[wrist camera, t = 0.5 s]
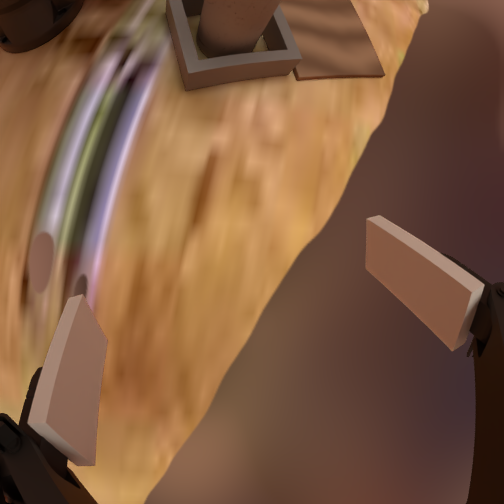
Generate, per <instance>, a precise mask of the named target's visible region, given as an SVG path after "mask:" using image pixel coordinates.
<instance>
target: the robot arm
mask: <svg viewBox="0 0 504 504" xmlns="http://www.w3.org/2000/svg"><path fill="white" fill-rule="evenodd" d="M83 1H84V0H0V46H1V47H2V48H3V49H4V50H6V51H8V52H12V53H19V52H25V51H28V50H31V49H34V48H36V47H38V46H40V45H42V44H44V43H46V42H47V41H49V40H50V39H52V38H53V37H55V36H56V35H57V34H59V33H60V32H61V31H62V30H63V29H64V28H66V27H67V26H68V25H69V24H70V22H71V21H72V20H73V19H74V18H75V16H76V15H77V14H78V12H79V10H80V9H81V6H82V4H83ZM366 235H367V237H366V238H367V239H366V241H367V242H366V269H367V270H368V271H369V272H370V273H371V274H372V275H373V276H374V277H376V278H377V279H378V280H379V281H380V282H381V283H382V284H383V285H384V286H385V287H387V288H388V289H389V290H390V291H391V292H392V293H393V294H394V295H395V296H396V297H397V298H398V299H399V300H400V301H401V302H403V303H404V304H405V305H406V306H407V307H408V308H409V309H410V310H411V311H412V312H413V313H414V314H415V315H416V316H417V317H418V318H419V319H420V320H421V321H423V323H424V324H426V325H427V327H429V328H430V329H431V330H432V331H433V332H434V333H435V334H436V335H437V336H438V337H439V338H440V339H441V340H442V341H443V342H444V343H445V344H446V345H447V346H448V347H449V348H450V349H451V351H453V350H455V349H457V348H458V347H460V346H461V345H463V344H464V343H465V342H466V339H467V336H468V334H469V331H470V332H471V333H472V334H473V335H474V337H473V340H472V342H471V345H470V347H469V350H468V352H467V357H469V356H470V353H471V351H472V350H473V356H472V357H474V370H475V396H476V419H475V443H474V456H473V465H472V474H471V481H470V488H469V494H468V499H467V503H466V504H504V283H503V282H499V283H495V284H493V285H491V284H490V283H489V282H487V281H486V280H485V279H483V278H482V277H480V276H479V275H478V274H476V273H475V272H473V271H472V270H471V269H468V268H467V267H466V266H465V265H463V264H461V263H460V262H459V261H458V260H456V259H454V258H453V257H451V256H449V255H446V254H443V253H439V252H437V251H436V250H434V249H433V248H431V247H430V246H428V245H427V244H425V243H424V242H422V241H421V240H419V239H417V238H416V237H414V236H413V235H411V234H409V233H408V232H406V231H405V230H403V229H401V228H400V227H398V226H396V225H395V224H393V223H392V222H390V221H388V220H387V219H385V218H383V217H382V216H380V215H378V216H374V217H370V218H367V230H366ZM107 343H108V340H107V338H106V337H105V335H104V333H103V331H102V330H101V328H100V326H99V324H98V322H97V321H96V319H95V317H94V315H93V313H92V311H91V309H90V307H89V305H88V303H87V301H86V299H85V297H84V295H83V294H82V295H77V296H74V297H70V298H68V301H67V303H66V306H65V308H64V310H63V313H62V315H61V318H60V320H59V323H58V326H57V328H56V331H55V333H54V336H53V339H52V342H51V344H50V347H49V350H48V353H47V356H46V359H45V362H44V365H43V367H40V368H38V369H37V371H36V372H35V374H34V375H33V377H32V379H31V382H30V385H29V390H28V392H27V395H26V398H27V399H25V402H24V406H23V409H22V413H21V417H20V421H19V425H17V424H16V423H15V422H14V421H13V420H12V419H11V418H10V417H9V416H8V415H7V414H4V413H0V504H98V503H97V502H96V501H95V500H94V498H93V497H92V496H91V495H90V493H89V492H88V491H87V490H86V489H85V487H84V486H83V485H82V483H81V482H80V481H79V479H78V478H77V477H76V476H75V474H74V473H73V471H72V470H70V469H69V468H68V467H67V462H68V459H69V460H70V461H71V462H73V463H74V464H75V465H77V466H95V456H96V437H97V423H98V412H99V402H100V392H101V384H102V376H103V369H104V362H105V356H106V349H107ZM4 495H5V496H7V497H8V503H7V502H6V501H5V497H4Z"/></svg>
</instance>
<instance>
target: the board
mask: <svg viewBox="0 0 504 504" xmlns="http://www.w3.org/2000/svg"><path fill="white" fill-rule="evenodd" d="M279 5H280V7H281V9H282V11H283V14H284V16H285V18H286V20H287V23H288V25H289V27H290V30H291V32H292V34H293V37H294V39H295V42H296V44H297V47H298V49H299V52H300V54H301V57H302V60H301V61H300V62H299V63H298V64H297V65H296V66H295V68H294V69H293V72H294V74H295V77H296V80H307V79H321V78H343V77H383V76H385V73H384V71H383V68H382V66H381V63H380V61H379V59H378V56H377V54H376V52H375V49H374V47H373V45H372V43H371V41H370V38H369V36H368V34H367V32H366V30H365V28H364V26H363V24H362V22H361V20H360V18H359V16H358V14H357V12H356V10H355V8H354V6H353V5H352V3H351V1H350V0H282V1H281V2H280V4H279Z"/></svg>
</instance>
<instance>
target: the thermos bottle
mask: <svg viewBox="0 0 504 504" xmlns="http://www.w3.org/2000/svg"><path fill="white" fill-rule="evenodd" d="M281 1H282V0H204V4H203V8H202V13H201V17H200V22H199V27H198V32H197V44H198V47H199V48H200V50H201V51H202V52H203V53H204V54H205V55H206V56H208V57H209V58H215V57H221V56H228V55H236V54H244V53H251V52H252V50H253V49H254V47H255V45H256V43H257V41H258V40H259V38H260V36H261V34H262V33H263V31H264V29H265V27H266V26H267V24H268V22H269V21H270V19H271V17H272V15H273V14H274V12H275V11H276V9H277V7H278V6H279V4H280V2H281Z"/></svg>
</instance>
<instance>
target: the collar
mask: <svg viewBox="0 0 504 504" xmlns="http://www.w3.org/2000/svg"><path fill="white" fill-rule="evenodd" d="M203 4H204V0H166V16H167V20H168V24H169V28H170V32H171V36H172V40H173V44H174V48H175V51H176V55H177V59H178V63H179V67H180V71H181V74H182V78H183V82H184V86H185V90H186V91H189V90H193V89H198V88H203V87H208V86H213V85H218V84H224V83H229V82H235V81H242V80H248V79H256V78H263V77H272V76H281V75H288V74H289V73H290V72H291V71H292V70H293V69H294V68H295V66H296V65H297V64H298V63H299V62H300V61H301V60H302V57H301V54H300V52H299V49H298V47H297V44H296V42H295V39H294V37H293V34H292V32H291V30H290V27H289V25H288V23H287V20H286V18H285V16H284V14H283V11H282V9H281V7H280V5H279V6H278V7H277V9H276V11H275V12H274V14H273V15H272V17H271V19H270V21H269V22H268V24H267V26H266V27H265V29H264V31H263V33H262V34H263V36H264V39H265V42H266V44H267V47H268V49H269V51H263V52H253V53H244V54H236V55H228V56H221V57H215V58H209V59H203V60H199V59H198V56H197V52H196V49H195V45H194V42H193V38H192V35H191V31H190V28H189V25H188V21H187V18H186V16H192V15H198V14H201V13H202V8H203Z"/></svg>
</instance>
